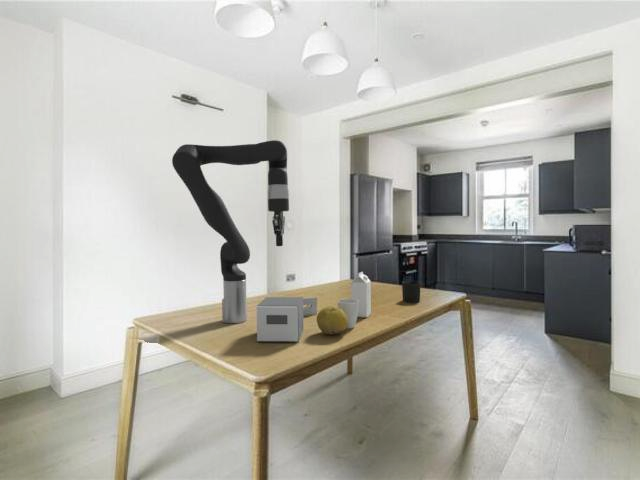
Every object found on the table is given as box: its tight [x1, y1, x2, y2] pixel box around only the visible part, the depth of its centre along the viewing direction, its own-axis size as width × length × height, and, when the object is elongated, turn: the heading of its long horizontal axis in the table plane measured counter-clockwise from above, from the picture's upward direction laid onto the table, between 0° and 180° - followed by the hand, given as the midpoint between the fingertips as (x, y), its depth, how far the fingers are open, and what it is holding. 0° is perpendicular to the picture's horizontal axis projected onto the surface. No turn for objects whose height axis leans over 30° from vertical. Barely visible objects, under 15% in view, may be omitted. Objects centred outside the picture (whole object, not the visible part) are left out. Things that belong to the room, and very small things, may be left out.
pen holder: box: [401, 280, 421, 303], centre depth 185 cm, size 9×9×10 cm
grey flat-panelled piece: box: [256, 306, 298, 342], centre depth 125 cm, size 14×15×11 cm
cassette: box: [303, 296, 318, 317], centre depth 157 cm, size 12×2×8 cm, turn 113°
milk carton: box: [350, 271, 372, 318], centre depth 155 cm, size 7×7×19 cm
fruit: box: [316, 305, 348, 335], centre depth 128 cm, size 11×12×10 cm
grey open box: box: [256, 296, 304, 343], centre depth 127 cm, size 14×15×12 cm
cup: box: [337, 298, 358, 329], centre depth 137 cm, size 8×8×10 cm
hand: (279, 246), depth 128 cm, fingers closed
